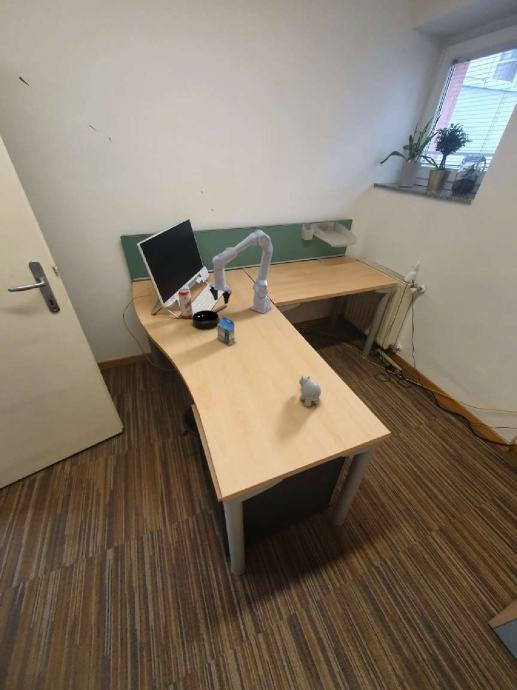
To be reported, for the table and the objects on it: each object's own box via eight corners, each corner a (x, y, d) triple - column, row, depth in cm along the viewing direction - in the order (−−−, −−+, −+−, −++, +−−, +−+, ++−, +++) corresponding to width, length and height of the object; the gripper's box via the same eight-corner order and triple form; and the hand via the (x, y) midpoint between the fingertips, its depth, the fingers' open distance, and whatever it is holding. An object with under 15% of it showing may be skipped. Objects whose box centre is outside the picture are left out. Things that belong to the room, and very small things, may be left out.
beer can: (195, 315, 156) (192, 289, 147) (188, 320, 152) (184, 293, 142) (186, 312, 158) (182, 287, 149) (179, 317, 154) (175, 291, 144)
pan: (235, 314, 158) (234, 308, 156) (206, 332, 142) (205, 326, 140) (216, 307, 165) (216, 301, 162) (187, 324, 149) (186, 317, 146)
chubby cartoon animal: (308, 384, 113) (311, 368, 108) (322, 405, 104) (325, 389, 99) (292, 387, 111) (294, 371, 106) (304, 409, 102) (307, 393, 97)
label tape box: (217, 338, 138) (215, 317, 131) (223, 335, 140) (222, 314, 133) (229, 345, 133) (228, 324, 126) (235, 342, 136) (234, 321, 128)
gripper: (204, 277, 147) (206, 300, 155) (225, 284, 141) (226, 308, 149) (213, 274, 152) (215, 296, 160) (233, 280, 146) (234, 303, 154)
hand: (221, 301), depth 155 cm, fingers open, 7 cm apart
